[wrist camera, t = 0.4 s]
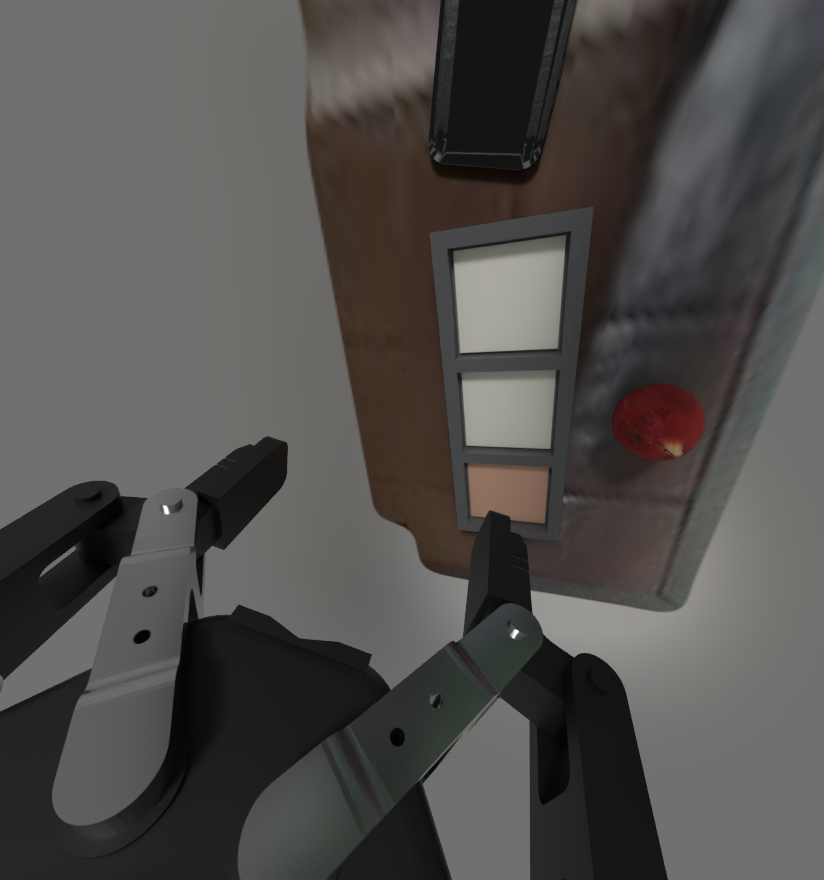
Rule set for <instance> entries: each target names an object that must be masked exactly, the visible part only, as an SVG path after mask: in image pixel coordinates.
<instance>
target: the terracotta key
mask: <svg viewBox="0 0 824 880" xmlns="http://www.w3.org/2000/svg"><path fill="white" fill-rule="evenodd" d="M548 472H549V467H532V466H515V465H497V464H479V463H468V474H469V489H470V503H471V516H476V517H486V515H487V513H488V511H489V510H492V511H495V512H498V513H501V514H504V515H507V516H510V520H514V521H524V522H533V523H543V524H545V512H546V498H547V485H548Z"/></svg>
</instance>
